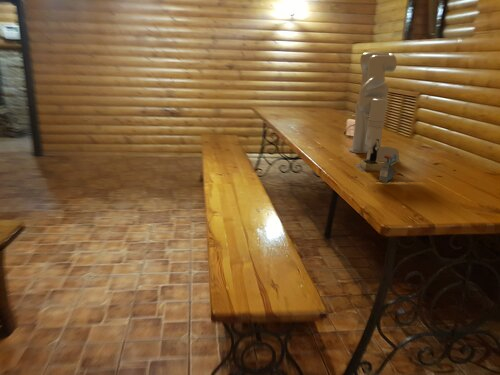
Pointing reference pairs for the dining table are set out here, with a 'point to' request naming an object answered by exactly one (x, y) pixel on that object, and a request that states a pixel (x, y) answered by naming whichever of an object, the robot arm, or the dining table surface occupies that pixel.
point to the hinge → (387, 151)
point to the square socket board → (373, 166)
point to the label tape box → (387, 170)
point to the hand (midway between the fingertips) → (371, 159)
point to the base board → (364, 170)
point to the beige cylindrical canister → (369, 156)
